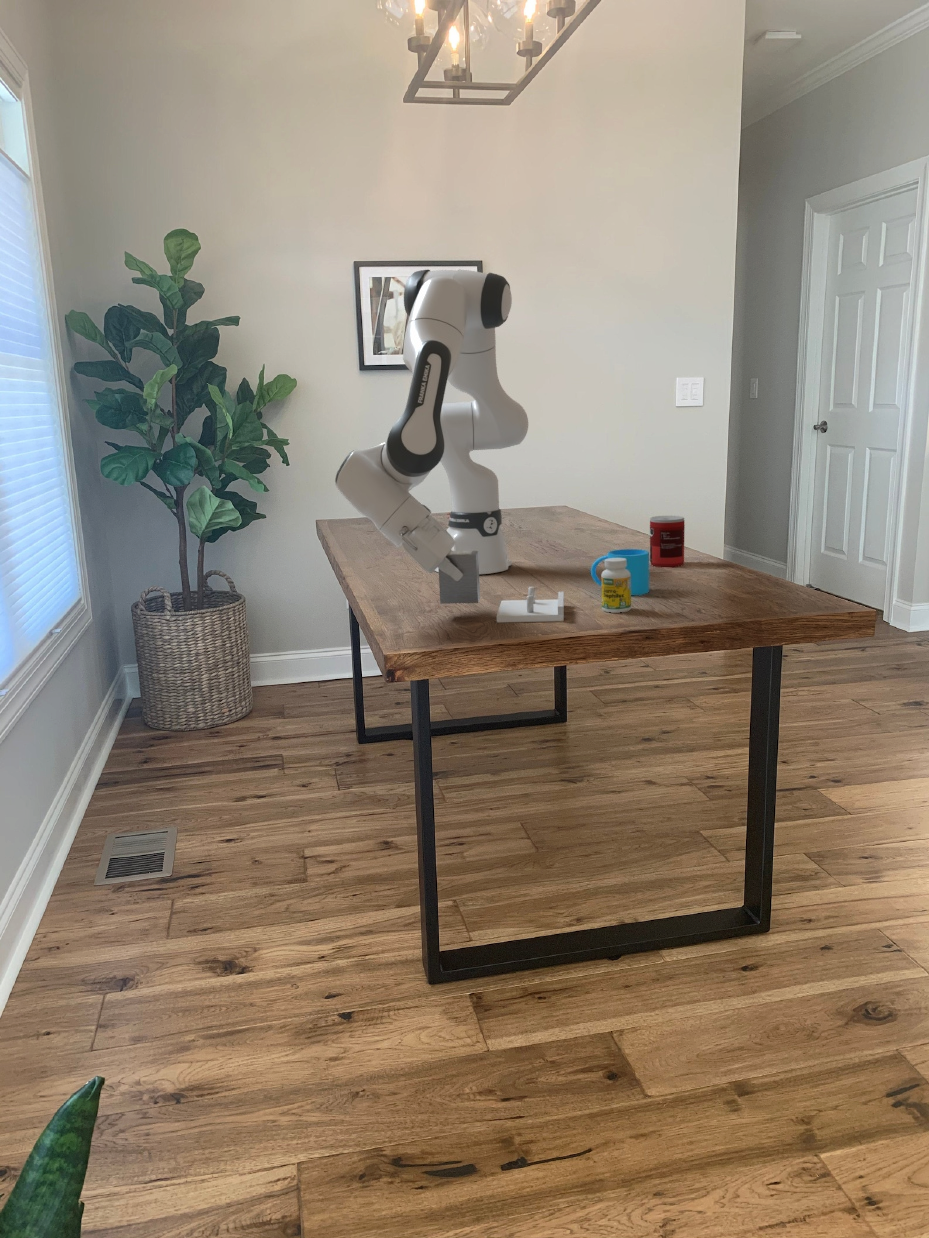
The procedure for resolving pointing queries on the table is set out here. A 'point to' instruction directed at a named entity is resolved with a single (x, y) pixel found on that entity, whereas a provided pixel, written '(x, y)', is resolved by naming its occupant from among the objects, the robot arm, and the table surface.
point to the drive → (467, 585)
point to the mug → (630, 568)
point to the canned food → (667, 541)
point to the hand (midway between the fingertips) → (462, 574)
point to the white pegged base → (532, 609)
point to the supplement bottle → (616, 586)
